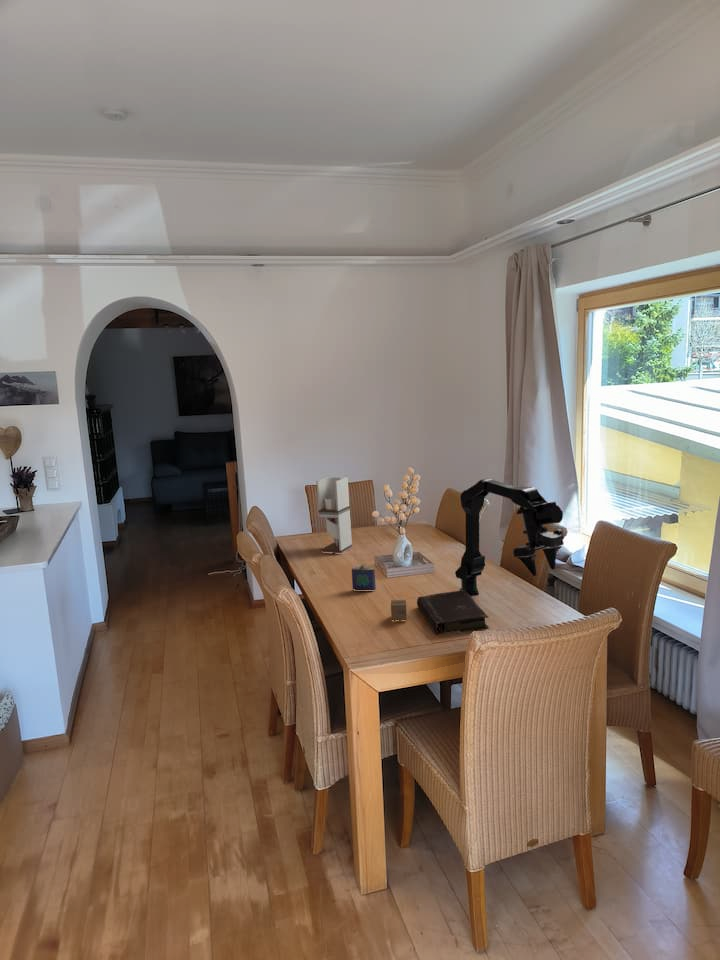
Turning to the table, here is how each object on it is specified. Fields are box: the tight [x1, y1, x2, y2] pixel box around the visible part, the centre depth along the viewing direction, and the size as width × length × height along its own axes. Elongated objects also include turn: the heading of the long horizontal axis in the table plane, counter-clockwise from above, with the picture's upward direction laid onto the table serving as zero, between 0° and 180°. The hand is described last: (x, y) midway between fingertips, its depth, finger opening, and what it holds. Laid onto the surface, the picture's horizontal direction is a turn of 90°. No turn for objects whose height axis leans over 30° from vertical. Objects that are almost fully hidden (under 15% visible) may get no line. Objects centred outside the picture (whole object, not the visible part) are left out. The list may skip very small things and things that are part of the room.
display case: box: [316, 476, 353, 553], centre depth 303 cm, size 11×11×35 cm
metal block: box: [390, 599, 408, 621], centre depth 216 cm, size 5×5×6 cm
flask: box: [351, 563, 377, 590], centre depth 246 cm, size 9×3×11 cm, turn 78°
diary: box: [416, 590, 490, 636], centre depth 215 cm, size 19×25×5 cm
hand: (544, 572), depth 208 cm, fingers open, 9 cm apart
